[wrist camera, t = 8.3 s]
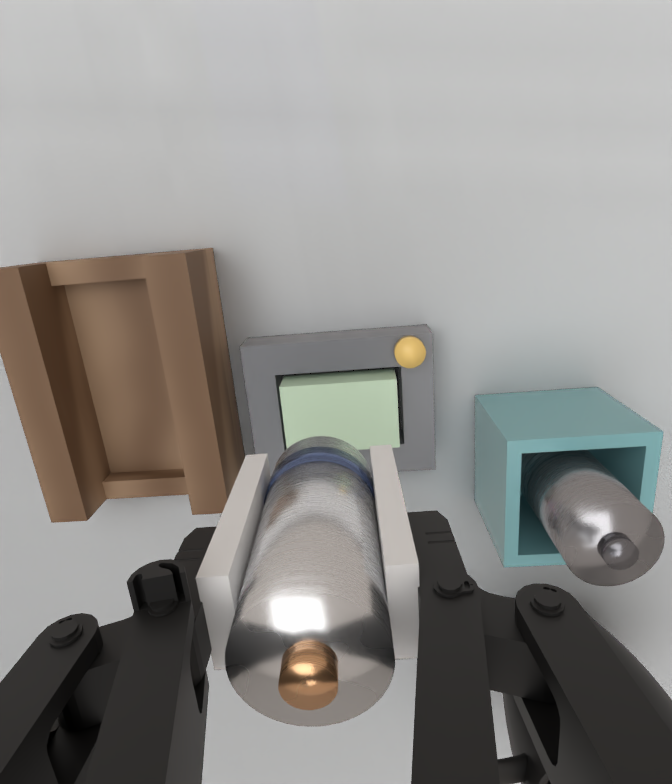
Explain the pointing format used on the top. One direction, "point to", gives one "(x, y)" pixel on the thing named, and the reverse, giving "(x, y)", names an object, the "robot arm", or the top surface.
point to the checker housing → (341, 353)
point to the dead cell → (591, 517)
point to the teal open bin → (549, 434)
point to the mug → (525, 756)
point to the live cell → (314, 593)
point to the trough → (122, 379)
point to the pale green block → (342, 407)
